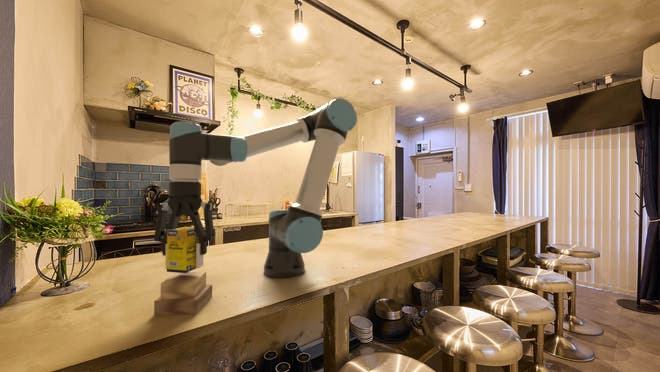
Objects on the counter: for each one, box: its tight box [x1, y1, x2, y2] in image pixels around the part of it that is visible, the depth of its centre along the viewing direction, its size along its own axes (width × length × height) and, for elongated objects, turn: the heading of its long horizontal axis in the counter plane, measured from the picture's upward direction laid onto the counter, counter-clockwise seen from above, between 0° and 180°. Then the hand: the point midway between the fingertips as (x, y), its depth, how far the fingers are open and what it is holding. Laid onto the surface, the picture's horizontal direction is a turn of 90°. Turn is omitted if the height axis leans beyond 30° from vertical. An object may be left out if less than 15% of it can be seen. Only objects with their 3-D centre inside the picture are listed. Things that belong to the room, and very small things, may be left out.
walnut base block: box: [153, 284, 213, 317], centre depth 67 cm, size 10×10×4 cm
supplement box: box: [166, 226, 199, 273], centre depth 67 cm, size 6×6×11 cm
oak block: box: [160, 271, 207, 300], centre depth 67 cm, size 8×8×4 cm
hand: (184, 267), depth 67 cm, fingers closed on supplement box, 7 cm apart
